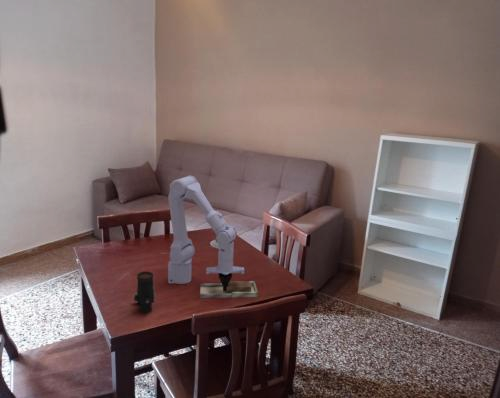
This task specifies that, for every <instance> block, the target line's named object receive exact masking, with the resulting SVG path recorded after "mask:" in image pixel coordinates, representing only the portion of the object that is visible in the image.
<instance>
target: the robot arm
mask: <svg viewBox="0 0 500 398" xmlns="http://www.w3.org/2000/svg"><path fill="white" fill-rule="evenodd" d="M167 199H168V207H169V213H170V221H171V226H172V234H173V241H172V243H171V244H170V247H169V248H170V252H169V258H170V260H169V261H168V266H167V267H168V268H167V271H168V272H167V279H168V281H167V282H168V284H178V285H179V284H180V285H181V284H182V285H184V284H188V283H190V282H191V281H192V259H193V256H194V255H195V252H196V250H195V246H194V245H193V241H192V239H191V238H189V237H188V229H187V222H186V215H185V214H186V213H185V207H184V200H185V199H190V200H193V201H194V202H195V204H196V205H197V206H198V207H199V208H200V210H201V211H202V212H203V213H204V215H206V217H205V221H206V222H207V224H208V225H209V226H210V228H211V229H212V231H213V232H214V233H215V235H216V236H215V238H216V239H215V240H217V242H218V247H219V249H218V252H217V253H218V255H217V257H218V258H217V265H216V266H209V267H206V270H205V271H206V272H205V273H206V275H210V274H218V278H219V280H220V283H222V286H223V291H226V289H227V286H228V283H229V282H231V280H232V278H233V274H241V275H244V274H245V267H243V266H242V267H241V266H235V265H234V248H235V247H234V245H235V243H234V242H235V239H236V238H237V230H236V228H235V227H233V226H232V225H230V224H229V223H227V222H226V220H225V218H224V217H223V214H222V213H220V212H219V211H218V210H215V209H214V208H213V206H212V205H211V203H210V202H209V200H208V198H207V197H206V195H205V193H204V192H203V191H202V188H201V184H200V183H199V182H198V180H197V178H196V177H195V176H193V175H187V176H184V177H182V178H181V177H180V178H178V179H174V180H172V181H171V183H169V193H168V195H167Z"/></svg>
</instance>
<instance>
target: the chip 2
mask: <svg viewBox="0 0 500 398" xmlns="http://www.w3.org/2000/svg"><path fill="white" fill-rule="evenodd" d="M239 285H240V292H251V283H250V281H249V280H247V281H245V280H244V282H239Z"/></svg>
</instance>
